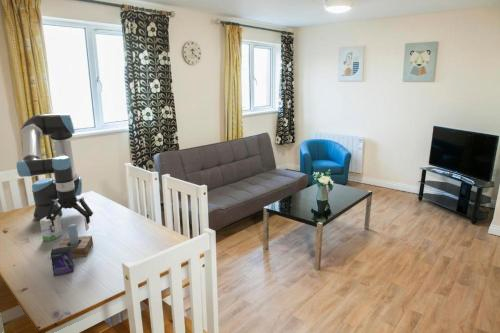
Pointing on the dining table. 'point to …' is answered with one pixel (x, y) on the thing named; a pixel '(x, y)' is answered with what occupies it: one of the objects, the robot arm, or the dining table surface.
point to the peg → (73, 234)
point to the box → (62, 260)
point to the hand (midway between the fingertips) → (72, 230)
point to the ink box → (49, 229)
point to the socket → (79, 246)
